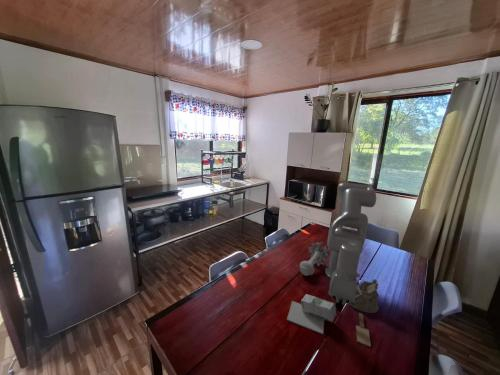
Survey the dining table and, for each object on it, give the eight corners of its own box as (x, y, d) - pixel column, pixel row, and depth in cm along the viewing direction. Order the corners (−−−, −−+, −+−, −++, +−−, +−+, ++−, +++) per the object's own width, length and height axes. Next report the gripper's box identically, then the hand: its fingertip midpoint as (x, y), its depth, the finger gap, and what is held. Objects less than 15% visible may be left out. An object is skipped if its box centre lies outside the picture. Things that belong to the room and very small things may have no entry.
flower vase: (310, 287, 126) (327, 262, 142) (316, 268, 116) (333, 243, 132) (292, 274, 133) (310, 252, 149) (296, 256, 123) (315, 234, 139)
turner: (354, 313, 100) (355, 311, 100) (366, 317, 98) (366, 315, 98) (357, 342, 86) (357, 339, 85) (370, 347, 84) (371, 345, 84)
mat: (292, 302, 105) (292, 301, 105) (324, 313, 99) (325, 312, 99) (286, 320, 94) (286, 319, 94) (322, 334, 88) (323, 333, 88)
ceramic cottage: (377, 296, 112) (381, 272, 108) (378, 319, 98) (383, 292, 95) (346, 286, 120) (349, 264, 116) (343, 306, 106) (346, 282, 102)
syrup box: (336, 314, 94) (306, 304, 103) (335, 302, 94) (305, 293, 103) (332, 322, 90) (301, 311, 99) (330, 310, 89) (300, 299, 99)
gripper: (364, 273, 86) (356, 309, 90) (327, 263, 91) (321, 297, 95) (366, 284, 79) (358, 322, 83) (326, 272, 84) (320, 309, 89)
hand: (338, 309), depth 89 cm, fingers closed
